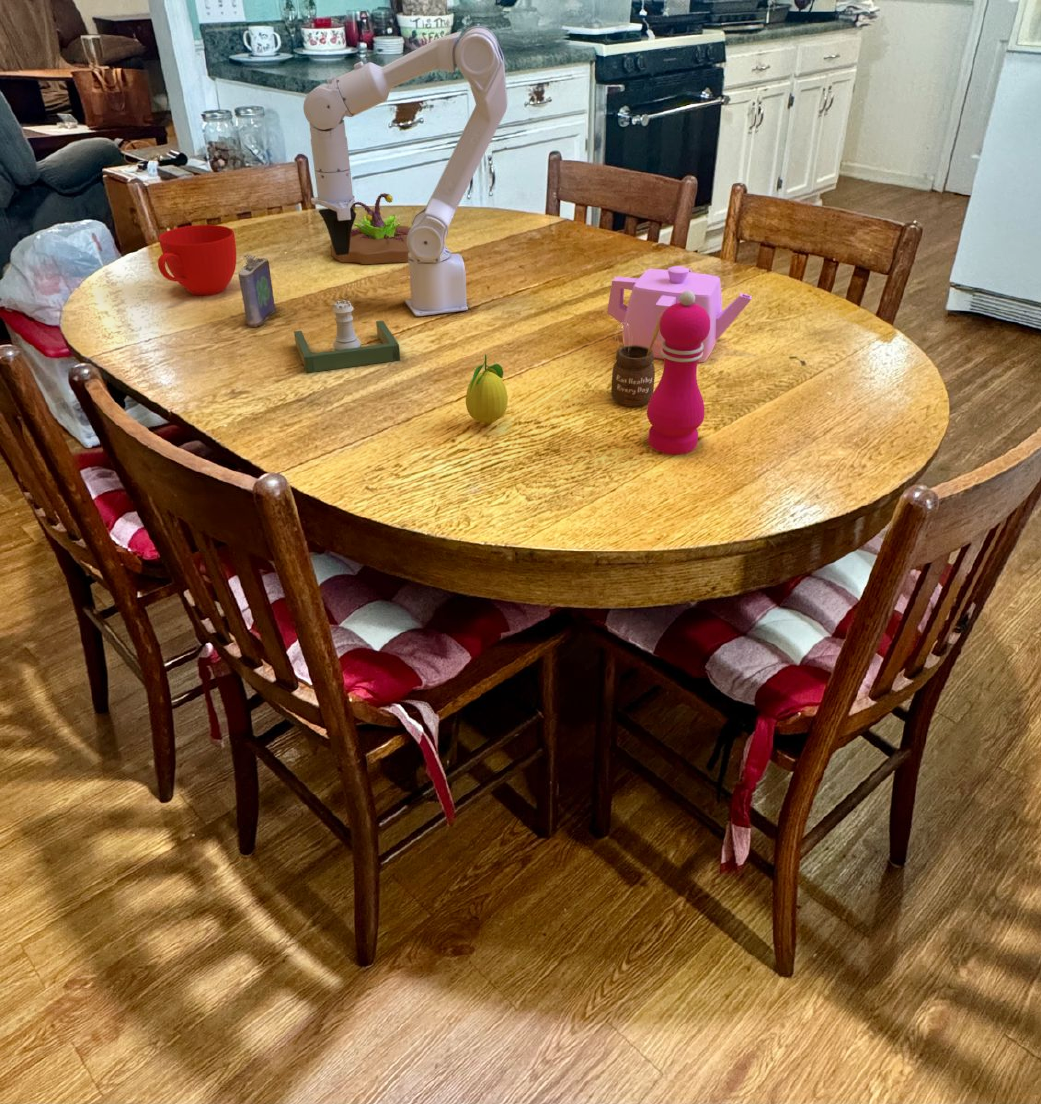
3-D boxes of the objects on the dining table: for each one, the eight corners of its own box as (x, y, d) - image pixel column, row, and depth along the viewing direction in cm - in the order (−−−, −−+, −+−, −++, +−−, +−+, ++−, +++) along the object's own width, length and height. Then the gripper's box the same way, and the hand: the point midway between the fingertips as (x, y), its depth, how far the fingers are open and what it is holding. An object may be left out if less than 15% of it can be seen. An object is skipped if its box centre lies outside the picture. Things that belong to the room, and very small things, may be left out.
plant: (423, 264, 178) (419, 206, 172) (325, 264, 179) (318, 206, 172) (432, 236, 195) (429, 182, 188) (343, 236, 195) (336, 181, 189)
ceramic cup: (140, 303, 160) (126, 246, 155) (201, 275, 173) (190, 221, 168) (199, 312, 156) (187, 254, 151) (257, 283, 169) (248, 228, 164)
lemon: (471, 439, 117) (469, 367, 112) (456, 421, 122) (453, 351, 116) (518, 430, 119) (518, 359, 114) (501, 412, 124) (500, 343, 118)
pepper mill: (639, 431, 119) (651, 281, 108) (693, 429, 119) (710, 280, 108) (650, 458, 113) (664, 302, 102) (706, 455, 114) (727, 300, 102)
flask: (258, 327, 150) (247, 263, 144) (242, 327, 151) (230, 262, 145) (279, 309, 158) (268, 247, 152) (263, 308, 158) (252, 246, 152)
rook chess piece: (366, 348, 143) (361, 299, 138) (355, 359, 139) (349, 309, 135) (340, 346, 144) (334, 296, 139) (329, 356, 140) (322, 306, 136)
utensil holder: (609, 389, 130) (614, 308, 123) (653, 390, 130) (660, 309, 123) (611, 407, 125) (616, 324, 118) (656, 407, 125) (664, 324, 118)
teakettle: (598, 336, 147) (602, 260, 140) (685, 320, 153) (693, 246, 146) (655, 374, 134) (663, 293, 127) (747, 355, 140) (759, 276, 133)
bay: (384, 334, 148) (383, 320, 146) (400, 360, 139) (399, 344, 138) (296, 346, 144) (293, 331, 142) (306, 373, 135) (304, 357, 134)
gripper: (300, 161, 150) (311, 244, 157) (314, 180, 138) (325, 268, 146) (342, 158, 152) (351, 240, 159) (359, 176, 140) (368, 263, 148)
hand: (341, 253), depth 153 cm, fingers closed
